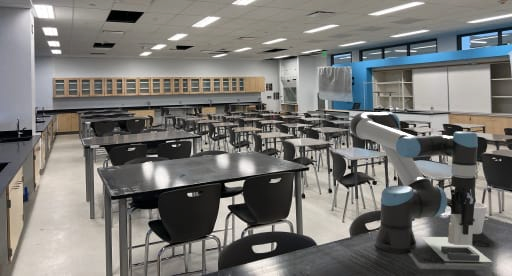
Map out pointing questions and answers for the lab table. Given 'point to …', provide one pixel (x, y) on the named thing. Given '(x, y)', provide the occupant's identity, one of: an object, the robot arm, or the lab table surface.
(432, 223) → the lab table surface
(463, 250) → the board
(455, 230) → the plug
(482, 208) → the foam cup
